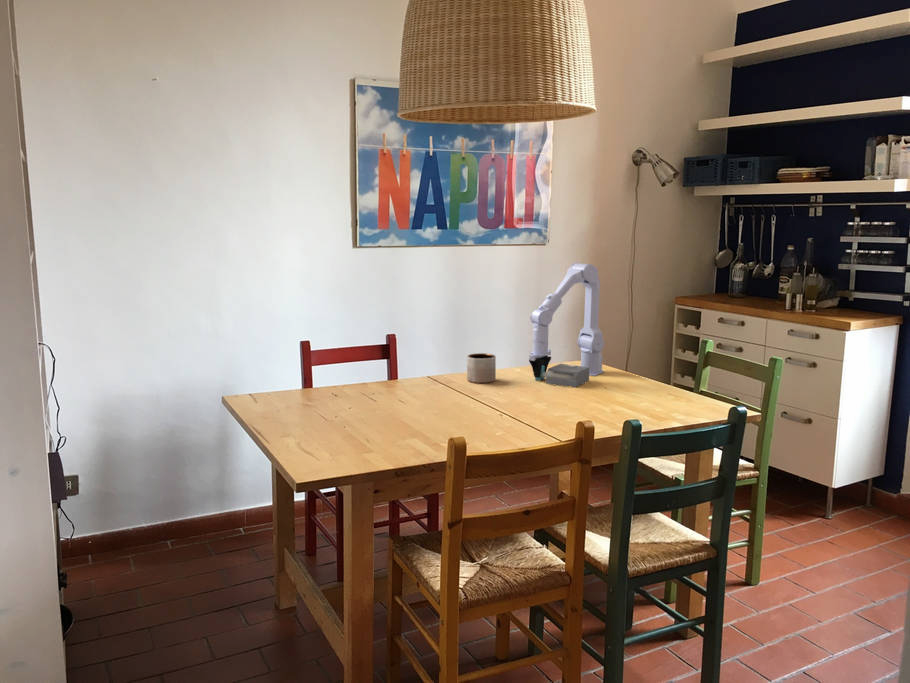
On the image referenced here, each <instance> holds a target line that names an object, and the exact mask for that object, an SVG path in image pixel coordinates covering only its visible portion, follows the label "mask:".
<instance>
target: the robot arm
mask: <svg viewBox="0 0 910 683" xmlns="http://www.w3.org/2000/svg"><path fill="white" fill-rule="evenodd" d="M580 283H581V284H582V285H583V287H584V288H585V289H584V290H585V292H584V293H585V294H584V316H583V327H582V328H581V329H580V330H579V335H578V338H577V345H578V347H579V348H580V366H584V367H589V376H594V377H596V376H598V375H600V374H603V373H604V372H605V370H603V354H602V350H603V349H604V347H605V340H604V337H603V335H604V334H603V332H602V330H601V329H600V327H599V318H600V317H599V315H600V314H599V312H600V292H601V291H600V290H601V288H600V287H601V281H600V279H599V269H598V268H597V267H596V266H595V265H594V264H590V263H579V262H573V263H572V264H571V265H570V267H569V268H568V269H567V270H566V275H565V276H564V278H563V280H562V281H561V282H560V284H559V285H558V286H557V288H556V290H555V291H554V292H553V293H549V294H547V295H546V296H545V299H544V300H543V302H542V303H541V304H540V305H539V306H538V308H536V309H534V311H532V313H531V315H530V317H529V318H530V322H531V323H532V330H533V331H532V351H530V352H529V358H528V362H529V364H530V366H531V369H532V372H533V376H534V378H535V377H537V378H540V376H541V369H542V366H545V372H547V371H548V367H549V364H550V362H551V360H552V356H551V353H552V350H551V349H549V326H550V324H551V323H552V321H553V316H554V314H555V313H556V312H557V310H558V308H559V307H561V305H562V299H563V298H564V296H565V295H566V294H568V292H569V291H570V289H572V287H573V286H574V285H575V284H580Z"/></svg>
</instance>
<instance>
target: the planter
mask: <svg viewBox="0 0 910 683" xmlns="http://www.w3.org/2000/svg"><path fill="white" fill-rule="evenodd" d="M466 359H467V360H466V361H467V363H466V380H467V381H468V382H469V383H472V382H475V383H474V384H489V383H488V382H491V383H494V382H495V381H496V378H497V377H496V365H497V364H496V363H497V362H496V355H495V354H491V353H483V352H482V353H481V352H480V353H471V354H468V355H467V358H466Z"/></svg>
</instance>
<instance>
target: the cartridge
mask: <svg viewBox="0 0 910 683" xmlns="http://www.w3.org/2000/svg"><path fill="white" fill-rule="evenodd" d="M546 377H555V378H563V379H571V380H573V377H574V374H570V373H562V372H554V371H548V370H547V371H546V372H545V366H542V369H541V376H540V378H537V377H534V381H542V380H545V379H546Z"/></svg>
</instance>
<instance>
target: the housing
mask: <svg viewBox="0 0 910 683" xmlns="http://www.w3.org/2000/svg"><path fill="white" fill-rule="evenodd" d="M568 365H569V364H566V363H559V364H556V365H554V366H552V367H549V368H547V371H554V372H562V373H570V374H574V377H573V380H571V379H563V378H555V377H546V378H545V384H546V383H548V384H547V385H553V384H556V385H555V386H561V385H562V386H561V387H568V386H571V387H570V388H578V387H580V386H582V385H584V384H586V383H587V381H588V382H590V375H589V367H584V366H581V365H576V367H575V368H573V367H568ZM585 382H586V383H585ZM583 383H584V384H583ZM581 384H582V385H581ZM579 385H580V386H579ZM577 386H578V387H577Z"/></svg>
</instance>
